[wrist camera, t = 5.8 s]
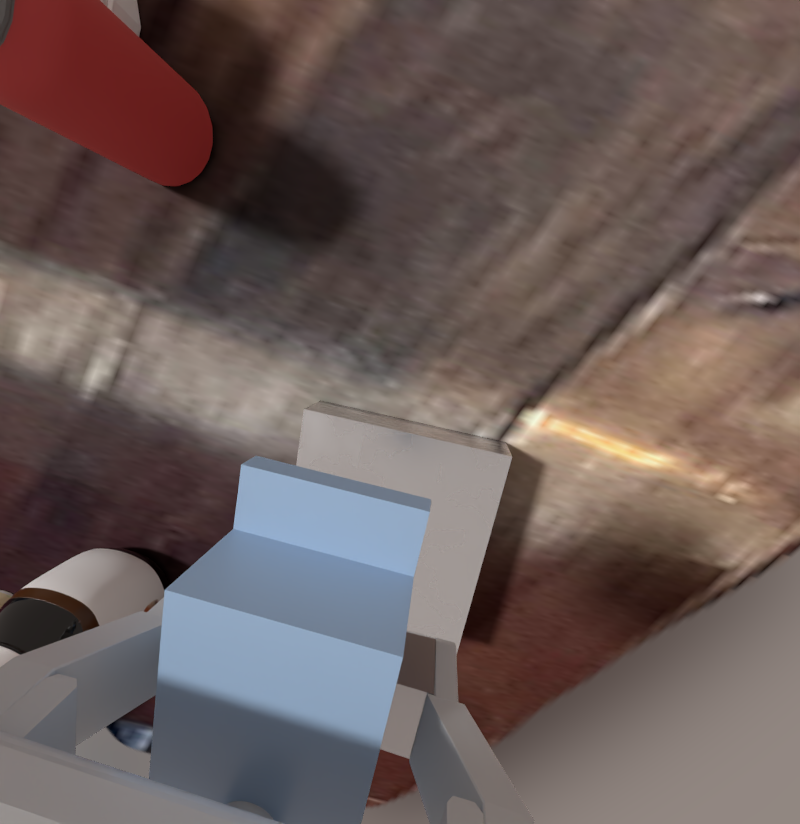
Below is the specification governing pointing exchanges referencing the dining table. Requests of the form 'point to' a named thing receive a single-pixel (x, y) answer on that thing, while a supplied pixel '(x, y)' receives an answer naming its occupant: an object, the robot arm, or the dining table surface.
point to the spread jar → (79, 599)
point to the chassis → (426, 477)
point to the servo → (288, 646)
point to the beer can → (101, 88)
